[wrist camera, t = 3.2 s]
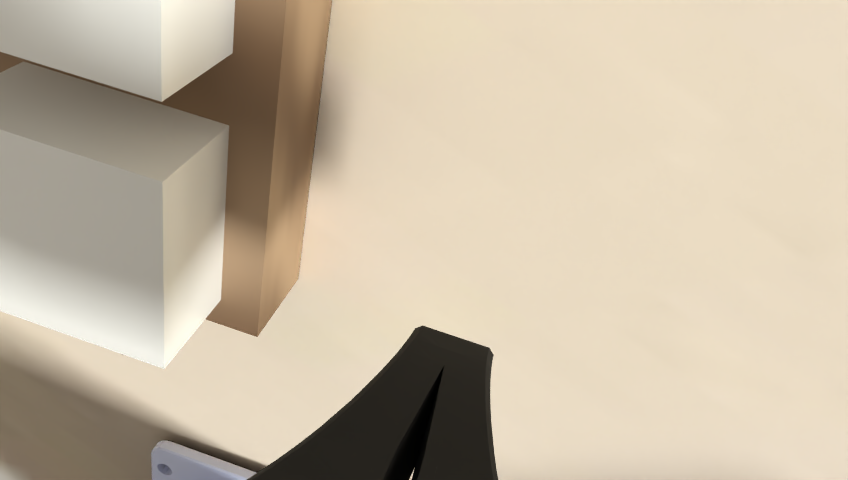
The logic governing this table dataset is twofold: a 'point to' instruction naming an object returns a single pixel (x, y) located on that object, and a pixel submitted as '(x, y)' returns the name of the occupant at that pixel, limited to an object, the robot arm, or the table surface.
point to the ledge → (259, 147)
